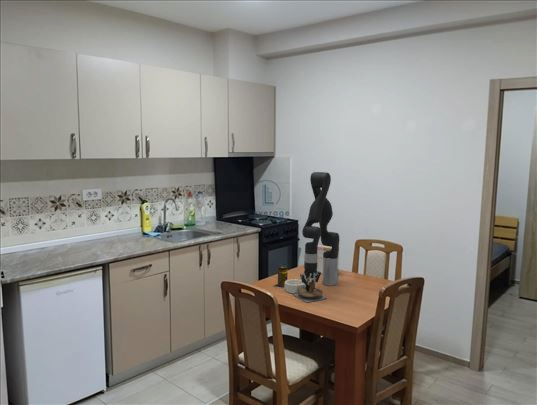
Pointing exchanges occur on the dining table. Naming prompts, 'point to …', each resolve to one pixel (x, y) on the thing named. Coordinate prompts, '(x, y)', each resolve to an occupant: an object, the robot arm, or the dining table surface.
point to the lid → (310, 291)
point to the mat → (309, 298)
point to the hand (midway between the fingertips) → (310, 289)
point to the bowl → (293, 286)
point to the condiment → (281, 277)
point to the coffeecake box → (320, 251)
